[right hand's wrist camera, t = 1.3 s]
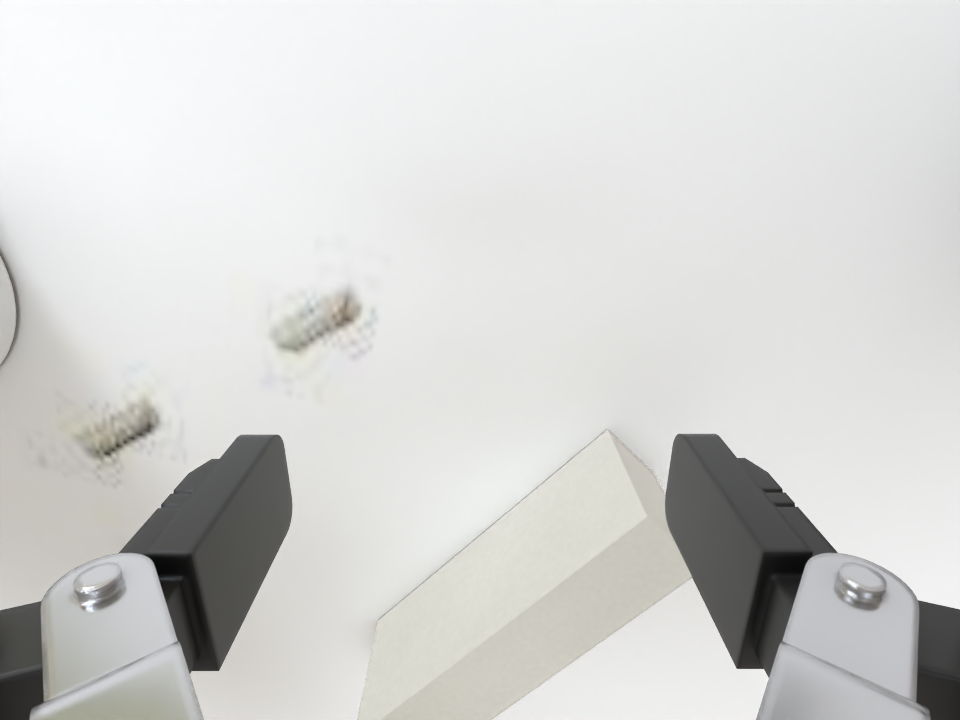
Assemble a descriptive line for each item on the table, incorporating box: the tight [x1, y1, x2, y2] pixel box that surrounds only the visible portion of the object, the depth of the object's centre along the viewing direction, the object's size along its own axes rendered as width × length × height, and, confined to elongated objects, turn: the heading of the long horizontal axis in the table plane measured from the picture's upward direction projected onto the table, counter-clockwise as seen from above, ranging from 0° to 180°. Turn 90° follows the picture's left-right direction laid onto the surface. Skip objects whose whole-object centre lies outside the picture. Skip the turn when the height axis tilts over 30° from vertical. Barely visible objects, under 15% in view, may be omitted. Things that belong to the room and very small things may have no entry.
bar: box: [357, 430, 692, 720], centre depth 36 cm, size 23×5×9 cm, turn 135°
